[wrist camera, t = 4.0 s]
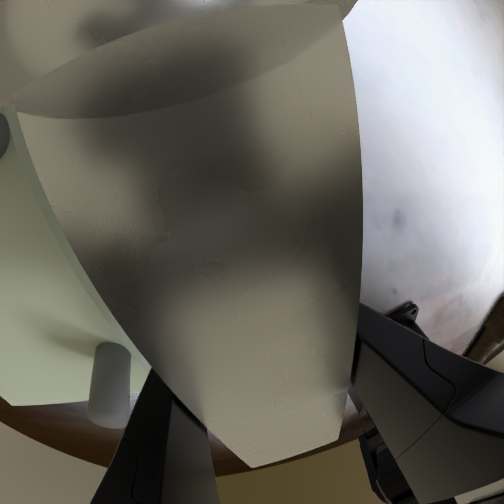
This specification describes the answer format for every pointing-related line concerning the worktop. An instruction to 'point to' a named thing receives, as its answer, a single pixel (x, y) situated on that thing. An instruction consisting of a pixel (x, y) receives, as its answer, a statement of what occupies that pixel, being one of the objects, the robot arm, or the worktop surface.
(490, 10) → the worktop surface
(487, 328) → the hand tool
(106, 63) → the round-ended glossy bar
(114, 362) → the peg board
